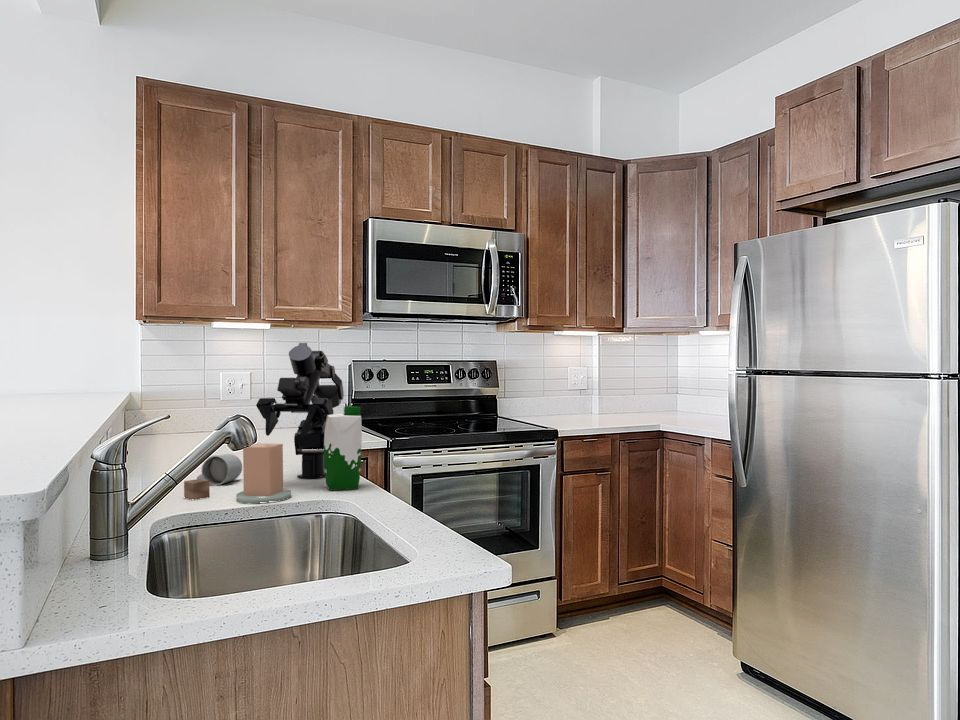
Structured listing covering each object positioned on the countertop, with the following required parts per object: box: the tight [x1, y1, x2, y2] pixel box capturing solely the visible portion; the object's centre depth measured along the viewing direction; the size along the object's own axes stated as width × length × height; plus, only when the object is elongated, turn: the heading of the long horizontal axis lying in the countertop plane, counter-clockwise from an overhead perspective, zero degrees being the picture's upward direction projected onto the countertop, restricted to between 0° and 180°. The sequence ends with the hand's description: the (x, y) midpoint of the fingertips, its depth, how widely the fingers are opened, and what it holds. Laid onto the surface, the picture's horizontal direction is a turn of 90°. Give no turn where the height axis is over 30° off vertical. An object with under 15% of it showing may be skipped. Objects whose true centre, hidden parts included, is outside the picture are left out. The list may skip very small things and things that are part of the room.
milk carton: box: [323, 405, 363, 491], centre depth 160 cm, size 9×9×20 cm
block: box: [183, 478, 211, 500], centre depth 150 cm, size 4×4×4 cm
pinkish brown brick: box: [242, 442, 284, 496], centre depth 149 cm, size 6×6×11 cm
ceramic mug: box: [196, 453, 243, 486], centre depth 169 cm, size 11×8×8 cm
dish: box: [235, 487, 292, 504], centre depth 149 cm, size 12×12×1 cm
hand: (284, 434), depth 157 cm, fingers open, 9 cm apart
